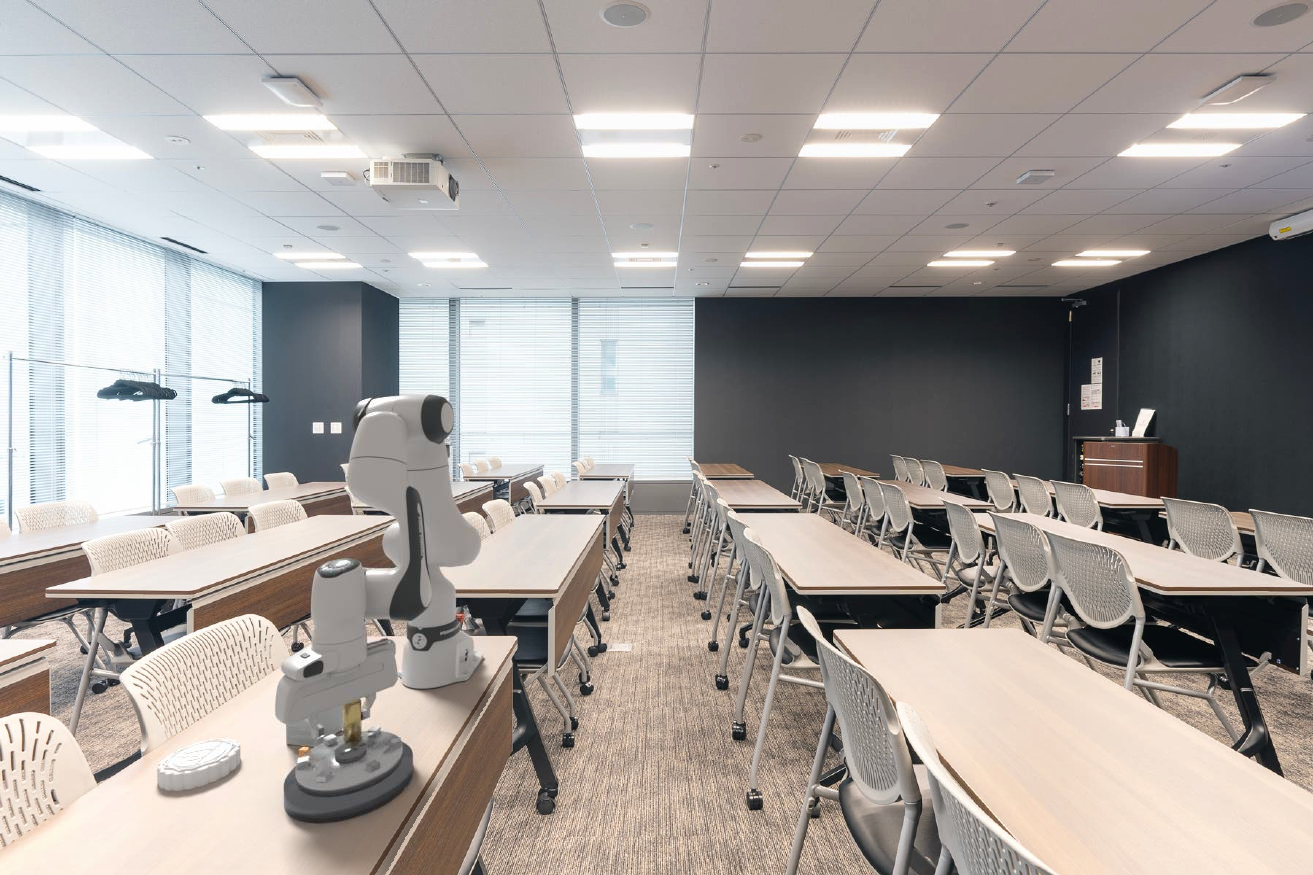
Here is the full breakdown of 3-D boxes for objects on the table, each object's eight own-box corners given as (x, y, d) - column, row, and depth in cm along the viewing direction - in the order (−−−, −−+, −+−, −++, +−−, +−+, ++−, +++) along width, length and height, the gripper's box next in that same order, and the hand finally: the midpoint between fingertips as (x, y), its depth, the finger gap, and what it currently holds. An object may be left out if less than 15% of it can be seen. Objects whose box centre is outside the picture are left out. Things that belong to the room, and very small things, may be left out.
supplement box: (317, 748, 115) (316, 684, 115) (285, 744, 117) (283, 680, 117) (344, 729, 123) (343, 668, 122) (313, 725, 124) (312, 665, 124)
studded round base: (302, 753, 108) (301, 705, 108) (401, 733, 115) (400, 688, 114) (288, 807, 93) (287, 751, 92) (404, 780, 100) (403, 728, 99)
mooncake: (188, 755, 114) (188, 736, 113) (254, 752, 115) (254, 733, 114) (139, 794, 102) (138, 773, 101) (213, 790, 103) (213, 770, 103)
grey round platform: (340, 748, 115) (340, 720, 115) (434, 758, 112) (434, 729, 112) (253, 815, 96) (253, 781, 96) (365, 829, 92) (364, 794, 92)
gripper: (386, 631, 117) (387, 700, 117) (270, 665, 101) (271, 745, 101) (403, 638, 113) (404, 710, 114) (285, 675, 97) (287, 758, 97)
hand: (341, 727), depth 107 cm, fingers open, 7 cm apart
